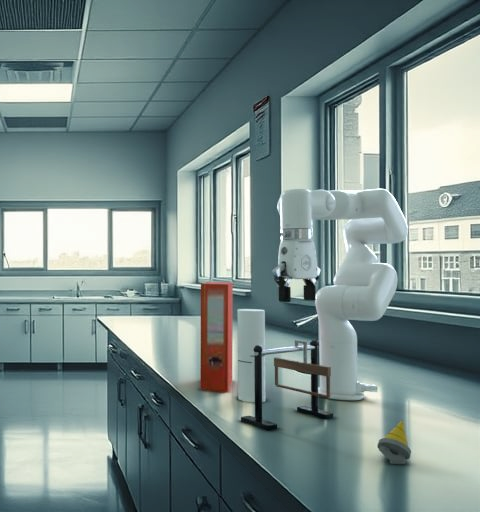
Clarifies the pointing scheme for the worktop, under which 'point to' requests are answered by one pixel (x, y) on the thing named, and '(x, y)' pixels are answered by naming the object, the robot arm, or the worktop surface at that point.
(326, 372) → the brown clothes hanger
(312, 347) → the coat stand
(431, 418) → the worktop surface
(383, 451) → the yellow grey cone
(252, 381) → the cylindrical container
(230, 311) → the file binder
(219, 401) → the worktop surface
